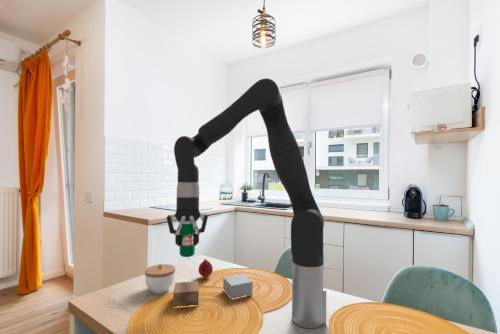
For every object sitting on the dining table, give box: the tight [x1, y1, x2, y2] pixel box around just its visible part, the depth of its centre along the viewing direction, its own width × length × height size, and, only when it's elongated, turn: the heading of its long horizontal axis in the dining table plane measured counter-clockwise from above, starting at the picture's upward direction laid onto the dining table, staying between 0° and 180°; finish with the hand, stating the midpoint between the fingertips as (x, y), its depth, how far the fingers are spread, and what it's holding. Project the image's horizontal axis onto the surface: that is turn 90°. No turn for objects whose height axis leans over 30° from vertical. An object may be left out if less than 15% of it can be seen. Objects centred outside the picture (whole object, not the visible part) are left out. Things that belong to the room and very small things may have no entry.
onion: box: [198, 258, 214, 279], centre depth 109 cm, size 6×6×8 cm
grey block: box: [222, 273, 253, 300], centre depth 96 cm, size 8×8×5 cm
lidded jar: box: [144, 263, 176, 295], centre depth 98 cm, size 11×11×9 cm
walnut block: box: [172, 280, 200, 308], centre depth 89 cm, size 8×8×5 cm
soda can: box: [179, 220, 196, 258], centre depth 90 cm, size 5×5×12 cm
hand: (187, 245), depth 90 cm, fingers closed on soda can, 5 cm apart
